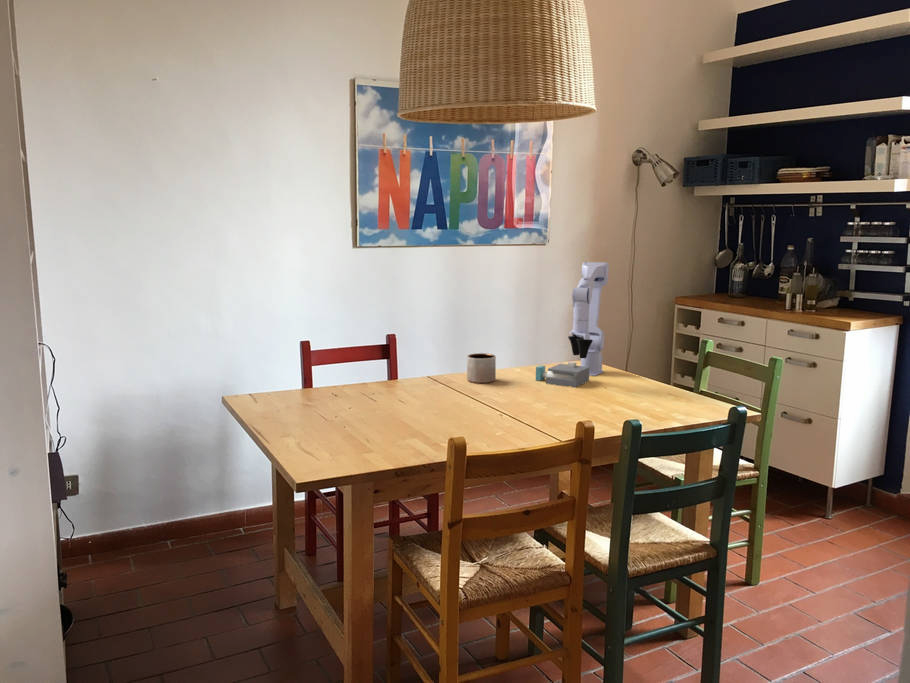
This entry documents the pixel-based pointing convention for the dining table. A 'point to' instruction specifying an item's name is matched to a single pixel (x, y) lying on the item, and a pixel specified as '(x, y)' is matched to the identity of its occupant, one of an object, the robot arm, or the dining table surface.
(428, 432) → the dining table surface
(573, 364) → the button
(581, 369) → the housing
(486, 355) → the planter
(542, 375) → the cartridge
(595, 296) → the robot arm
